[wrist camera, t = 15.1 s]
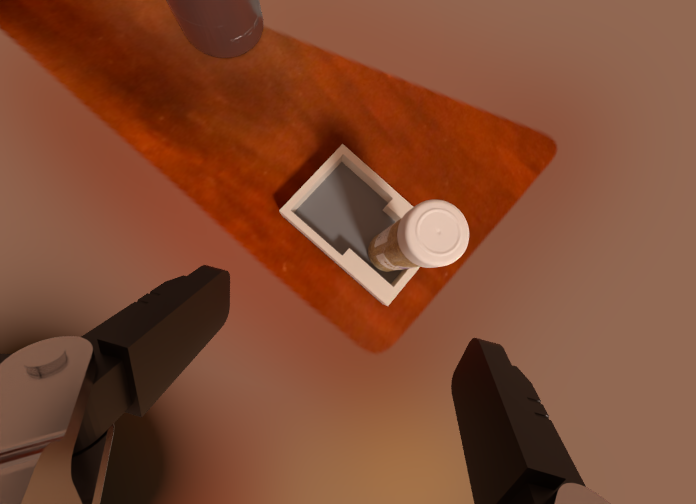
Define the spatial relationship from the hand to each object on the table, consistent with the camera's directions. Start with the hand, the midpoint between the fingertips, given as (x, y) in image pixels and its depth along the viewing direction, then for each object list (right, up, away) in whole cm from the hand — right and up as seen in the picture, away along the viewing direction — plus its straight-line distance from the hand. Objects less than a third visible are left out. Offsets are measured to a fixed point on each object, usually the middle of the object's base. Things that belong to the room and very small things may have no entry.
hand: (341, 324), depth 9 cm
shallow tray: (+2, +5, +23) cm, 23 cm away
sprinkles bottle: (+5, +2, +22) cm, 23 cm away
